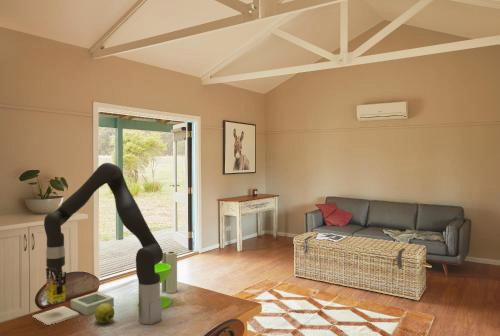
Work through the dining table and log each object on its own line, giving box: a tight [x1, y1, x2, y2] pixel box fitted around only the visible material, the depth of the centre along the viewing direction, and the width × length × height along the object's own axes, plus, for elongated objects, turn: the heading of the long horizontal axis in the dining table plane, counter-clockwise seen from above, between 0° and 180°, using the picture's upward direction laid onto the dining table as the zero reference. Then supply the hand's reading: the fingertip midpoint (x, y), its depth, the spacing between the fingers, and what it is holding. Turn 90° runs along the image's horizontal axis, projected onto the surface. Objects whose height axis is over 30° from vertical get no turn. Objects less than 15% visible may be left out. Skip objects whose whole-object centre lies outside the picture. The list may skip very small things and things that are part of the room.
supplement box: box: [46, 278, 66, 306], centre depth 171 cm, size 6×6×11 cm
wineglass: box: [137, 262, 172, 310], centre depth 186 cm, size 16×16×18 cm
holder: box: [70, 291, 115, 316], centre depth 182 cm, size 14×14×4 cm
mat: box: [32, 305, 80, 326], centre depth 171 cm, size 14×14×1 cm
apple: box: [94, 303, 115, 324], centre depth 165 cm, size 8×9×8 cm
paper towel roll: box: [161, 250, 178, 294], centre depth 203 cm, size 7×6×21 cm
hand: (56, 292), depth 171 cm, fingers closed on supplement box, 6 cm apart
